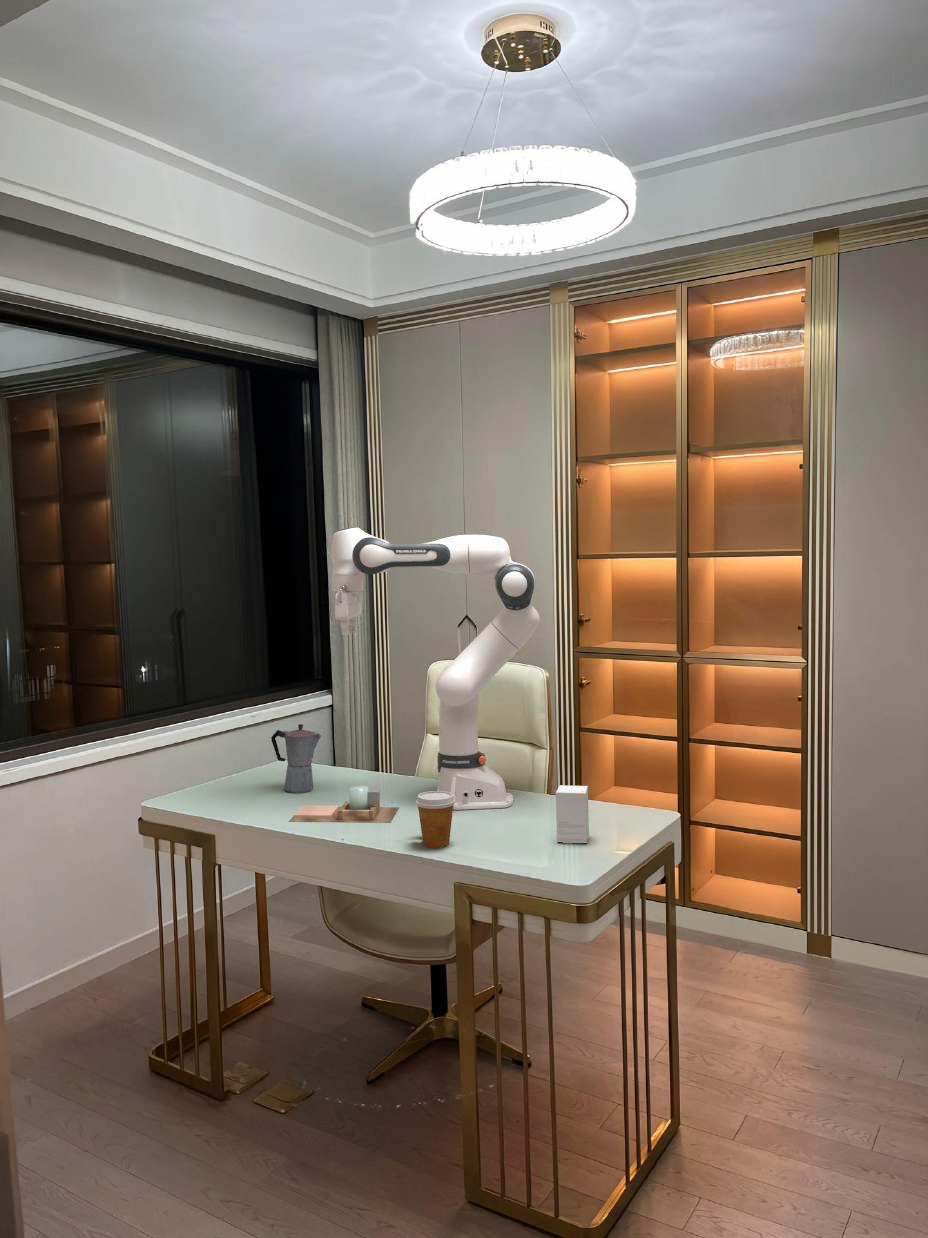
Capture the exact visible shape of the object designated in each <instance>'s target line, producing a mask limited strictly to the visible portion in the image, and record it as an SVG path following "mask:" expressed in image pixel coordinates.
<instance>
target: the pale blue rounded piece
mask: <svg viewBox="0 0 928 1238" xmlns="http://www.w3.org/2000/svg"><path fill="white" fill-rule="evenodd" d="M348 792H349V795H348V797H349V802H350V810H369V805H381V798H380V797H381V794H380V790H369V786H367V785H360V784H359V785H353V786H350V787H349V789H348Z"/></svg>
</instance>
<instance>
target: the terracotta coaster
mask: <svg viewBox="0 0 928 1238" xmlns="http://www.w3.org/2000/svg"><path fill="white" fill-rule="evenodd" d="M339 807H340V805H331V804H330V805H323V804H322V805H320V804H317V805H315V804H312V805H311V804H309V805H308V804H303V805H302V806H301V807H299V809H298V810H297V811H296V812H295V813H294V814H293V816H294V818H332V816H333V815H334V814H335V813H336V812H337V810H338V809H339Z"/></svg>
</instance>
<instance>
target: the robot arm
mask: <svg viewBox="0 0 928 1238" xmlns="http://www.w3.org/2000/svg"><path fill="white" fill-rule="evenodd" d="M330 555H331V563H332V572H331V588H332V589H331V590H332V592H335V595H334V617H335V620H337V621H339V625H340V629H341V635H342V636H349V635H350V633H351V634H352V633H354V634H355V633H356V632H357V622H358V619H357V618H358V617H360V616H361V615H362V612H363V611H362V610H363V591H365V587H366V586H365V583H364V575H365V574H366V575H370V576H372V575H376V574H382V573H385V572H388V571H390V570H391V569H393V568H407V567H408V568H409V567H410V568H413V567H417V568H418V567H420V568H421V567H422V568H428V569H429V568H430V569H433V570H434V569H435V570H438V571H441V572H446V573H451V574H456V575H486V576H489V577H491V578H492V579H494V583H495V584H494V585H495V590H496V592H497V595H498V597H499V598H500V600H501V601H502V604H503V605H504V606H503V607H502V609H501V611H500V612H499V614H498V615H497V616H495V618H493V620H492V621H490V623H489V624H488V625H487V626H486V627H485V628H484V629H482V630H481V632H480V633H479V634H477V636H476V637H474V639H473V640H472V641H471V642H470V643H469V644H468V645H467V646H466V648H464V649H463V651H461V653H460V654H458V656H457V657H456V658H455V659H453V661H452V662H451V663H450V664H449V665H448V666H446V667H445V668H444V670H443V671H442V672H440V674H439V676H438V677H437V679H436V682H435V691H436V695H437V697H438V698H439V717H438V718H439V719H438V752H437V755H436V756H437V757H436V763H437V764H436V765H437V767H436V769H437V772H438V779H437V786H436V791H445V792H450V793H452V794H453V796H454V799H455V802H454V805H453V811H454V810H455V811H457V810H459V811H460V810H481V809H482V810H483V809H484V810H485V809H502V808H503V809H504V808H510V806H512V805H513V804H514V801H515V800H514V795H513V794H512V793H510V792H507V789H506V783H505V782H504V779H503V777H502V776H501V775H500V774H498V773H497V772H495V771H494V770H493V769H492V768H490V767H489V766H487V765H486V761H487V758H486V754H485V752H481V751H479V732H478V731H479V730H478V729H479V727H478V726H479V724H478V723H479V720H478V719H479V693H480V691H481V690H482V689H483V688H484V687H485V686H486V685H487V684H488V683H489V681H490V680H492V678H493V677H495V676H496V674H497V673H498V672H499V671H500V670H501V669H502V668H503V667H504V666H505V665H506V664H507V663H508V661H510V660H511V659H512V658H513V657H514V656H515V654H517V652H518V651H520V649H521V648H523V646H525V644H526V643H527V642H528V641H529V639H530V638H531V637H532V636H533V634H534V633H535V631H536V629H537V628H538V626H539V625H540V621H541V619H540V614H539V612H538V610H537V609H536V607H534V606H533V604H532V603H531V602H532V597H533V593H534V591H535V589H536V578H535V575H534V572H532V570H531V569H530V568H529V567H528V566H526V565H525V564H522V563H519V562H517V561H516V560H514V559H512V558H511V550H510V546H509V544H508V542H507V541H506V540H505V539H504V538H503V537H500V536H494V535H486V534H461V535H453V536H449V537H448V536H447V537H444V538H440V539H436V540H434V541H429V542H424V543H423V542H422V543H391V542H389V541H388V540H385V539H383V538H379V537H377V536H374V535H371V534H369V533H367V532H365V531H364V530H362V529H361V528H359V527H357V526H352V527H345V528H340V529H338V530H336V531H335V532H334V534H333V535H332V539H331V554H330Z"/></svg>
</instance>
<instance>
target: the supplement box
mask: <svg viewBox="0 0 928 1238" xmlns="http://www.w3.org/2000/svg"><path fill="white" fill-rule="evenodd" d="M555 811H556V813H555V815H556V816H555V817H556V842H563V843H562V844H572V843H588V840H587V839H589V837H590V829H589V826H590V825H589V821H590V820H589V819H590V817H589V786H588V785H564V784H563V785H561V784H560V785H558V788H557V789H556V791H555ZM588 836H589V837H588Z"/></svg>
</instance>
